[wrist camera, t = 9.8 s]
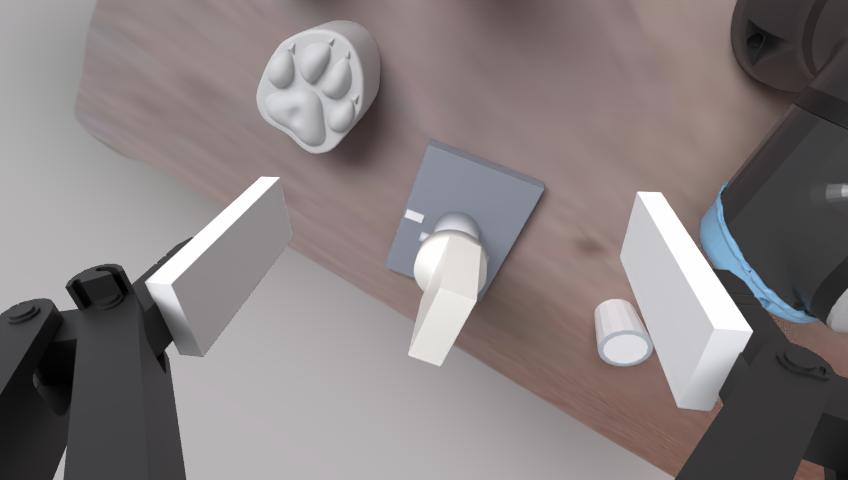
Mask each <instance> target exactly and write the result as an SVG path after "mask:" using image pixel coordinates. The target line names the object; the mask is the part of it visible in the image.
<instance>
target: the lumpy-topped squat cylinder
mask: <svg viewBox="0 0 848 480" xmlns="http://www.w3.org/2000/svg"><path fill="white" fill-rule="evenodd" d="M380 73H381V63H380V56H379V52H378V49H377V46H376V43H375V41H374V39H373V37H372V35H371V34H370V32H369V31H368V30H367V29H366V28H364V27H363V26H362V25H360V24H358V23H356V22H353V21H346V20H335V21H330V22H327V23H325V24H322V25H319V26H316V27H314V28H311V29H308V30H306V31H303V32H301V33H298V34H296V35H294V36H292V37H290V38H288V39H287V40H285V41H284V42H282V43H281V44H280V46H279V47H278V48H277V50H276V51H275V53H274V54H273V56H272V57H271V59H270V61H269V63H268V65H267V67H266V69H265V71H264V73H263V76H262V79H261V81H260V84H259V87H258V91H257V97H256V99H257V105H258V108H259V111H260V113H261V115H262V116H263V118H264V119H265V120H266V121H267V122H268V123H269V124H271V125H272V126H274V127H276V128H277V129H279V130H281V131H283V132H285V133H286V134H287V135H289V136H290V137H291V138H292V139H293V140H294V141H295V142H296V143H297V144H298V145H299V146H301V147H302V148H303V149H304V150H306V151H308V152H310V153H314V154H321V153H326V152H328V151H330V150H332V149H333V148H335V147H336V146H337V145H338V144H339V143H340V142H341V140H342V139H343V138H344V137H345V136H346V135H347V134H348V133H349V131H350V130H351V129H352V128H353V127H354V126H355V125H356V123H357V122H358V121H359V120H360V119H361V118H362V117H363V115H364V114H365V113H366V111H367V110H368V109H369V107H370V106H371V104H372V102H373V101H374V99H375V97H376V95H377V93H378V90H379V85H380Z"/></svg>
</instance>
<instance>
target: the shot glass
mask: <svg viewBox="0 0 848 480" xmlns="http://www.w3.org/2000/svg"><path fill="white" fill-rule="evenodd" d="M594 320H595V329H596V338H597V347H598V352H599V355H600V357H601V358H602V359H603V360H604V361H606V362H607V363H609V364H612V365H615V366H631V365H636V364H638V363H640V362H642V361H644V360H646V359H647V358H648V357H649V356H650V355H651V354H652V350H653V344H652V341H651V339H650V337H649V335H648V333H647V331H646V329H645V327H644V325H643V324H642V322H641V320H640V318H639V316H638V314H637V312H636V310H635V309H634V307H633V305H631V304H630V303H629V302H627V301H625V300H622V299H612V300H608V301H605V302H603V303H601V304H600V305H599V306H598V307H597V308H596V309H595V313H594Z"/></svg>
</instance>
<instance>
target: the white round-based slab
mask: <svg viewBox="0 0 848 480" xmlns="http://www.w3.org/2000/svg"><path fill="white" fill-rule="evenodd" d="M486 275H487V254H486V251H485V249H484V247H483V245H482V244H481V243H480V241H478V240H477V239H476V238H475V237H474V236H472V235H470V234H468V233H466V232H463V231H460V230H453V229H446V230H440V231H437V232H435V233H432V234H431V235H429V236H428V237H427V238H426V239H425V240H424V241H423V242H422V243H421V245H420V247H419V251H418V254H417V257H416V261H415V264H414V276H415V279H416V282H417V283H418V285H419V286H420V288H421V289H422V290H423V291H424V294H423V296H422V299H421V303H420V307H419V311H418V315H417V319H416V324H415V328H414V332H413V336H412V341H411V344H410V348H409V353H408V355H409V356H412V357H414V358H417V359H420V360H423V361H426V362H429V363H431V364H434V365H437V366H441V364H442V362H443V361H444V358H445V357H446V355H447V353H448V352H449V350H450V348H451V346H452V344H453V343H454V341H455V339H456V337H457V335H458V334H459V332H460V330H461V328H462V326H463V325H464V323H465V321H466V319H467V317H468V316H469V314H470V312H471V310H472V308H473V307H474V305H475V303H476V301H477V294H478V293H479V292H480V291H481V290H482V288H483V286H484V284H485V282H486Z"/></svg>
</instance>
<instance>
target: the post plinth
mask: <svg viewBox="0 0 848 480" xmlns="http://www.w3.org/2000/svg"><path fill="white" fill-rule="evenodd" d="M543 191H544V184H543V182H542V181H540V180H537V179H534V178H532V177H529V176H527V175H524V174H521V173H519V172H516V171H514V170H511V169H508V168H506V167H503V166H501V165H498V164H495V163H493V162H490V161H488V160H485V159H482V158H480V157H477V156H475V155H472V154H469V153H467V152H464V151H462V150H459V149H456V148H454V147H451V146H449V145H446V144H443V143H441V142H438V141H436V140H433V139H430V142H429V144H428V147H427V149H426V152H425V155H424V158H423V161H422V163H421V166H420V169H419V172H418V174H417V177H416V180H415V183H414V185H413V188H412V191H411V194H410V196H409V199H408V202H407V205H406V207H405V210H404V213H403V216H402V219H401V221H400V224H399V227H398V230H397V232H396V235H395V238H394V241H393V243H392V246H391V249H390V252H389V254H388V257H387V260H386V263H385V266H384V267H385V268H388V269H390V270H393V271H396V272H399V273H401V274H404V275H407V276H409V277H412V278H415V276H414V264H415V261H416V257H417V254H418V251H419V247H420V245H421V243H422V242H423V241H424V240H425V239H426V238H427V237H428V236H429V235H431V234H432V233H435V232H437V231H440V230H446V229H453V230H460V231H463V232H466V233H468V234H470V235H472V236H474V237H475V238H476V239H477V240H478V241H480V243H481V244H482V245H483V247H484V249H485V251H486V254H487V275H486V282H485V284H484V286H483V288H482V290H481V291H480V292H479V293H478V294H477V301H478V302H481V300H482V298H483V296H484V294H485V293H486V291H487V289H488V287H489V286H490V284H491V282H492V280H493V279H494V277H495V275H496V273H497V272H498V270H499V268H500V266H501V265H502V263H503V261H504V259H505V257H506V256H507V254H508V252H509V250H510V249H511V247H512V245H513V243H514V242H515V240H516V238H517V236H518V235H519V233H520V231H521V229H522V228H523V226H524V224H525V222H526V220H527V219H528V217H529V215H530V213H531V212H532V210H533V208H534V206H535V205H536V203H537V201H538V199H539V198H540V196H541V194H542V192H543Z"/></svg>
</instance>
